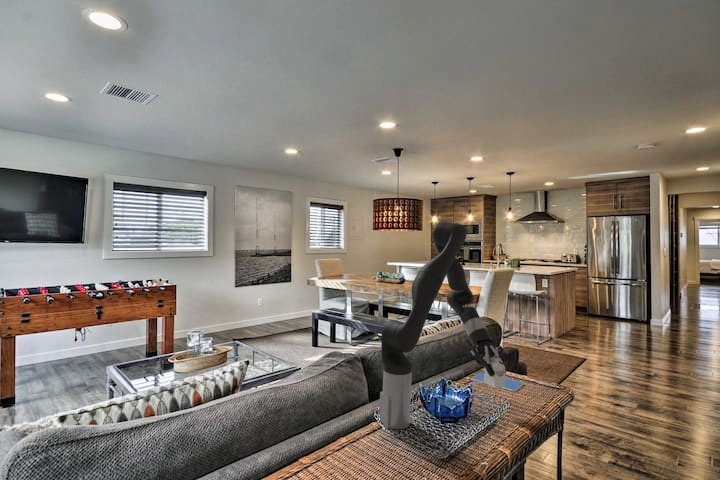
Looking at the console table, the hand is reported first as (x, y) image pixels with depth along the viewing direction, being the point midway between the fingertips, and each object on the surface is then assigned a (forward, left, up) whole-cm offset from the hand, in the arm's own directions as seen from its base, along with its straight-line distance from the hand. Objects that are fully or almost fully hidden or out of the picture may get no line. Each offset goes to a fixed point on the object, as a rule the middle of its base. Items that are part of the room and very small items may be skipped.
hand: (498, 374), depth 134 cm
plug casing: (0, +2, -4) cm, 5 cm away
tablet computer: (+22, +25, -15) cm, 37 cm away
